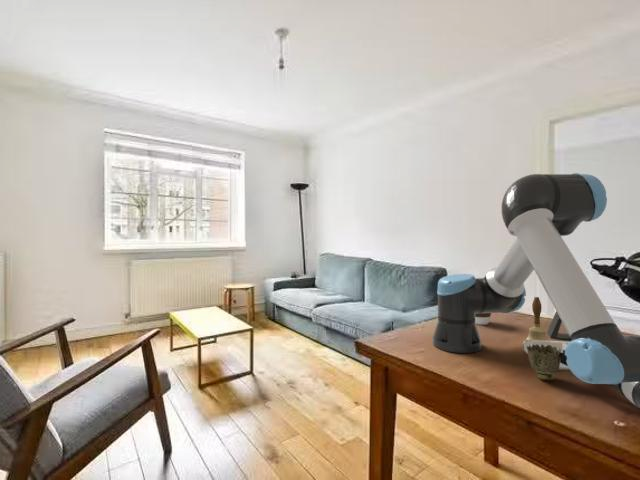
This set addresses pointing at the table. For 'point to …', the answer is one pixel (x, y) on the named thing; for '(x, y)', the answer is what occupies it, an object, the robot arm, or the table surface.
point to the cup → (544, 360)
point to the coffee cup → (482, 318)
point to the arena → (552, 343)
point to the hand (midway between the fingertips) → (593, 350)
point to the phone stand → (556, 329)
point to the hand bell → (536, 323)
